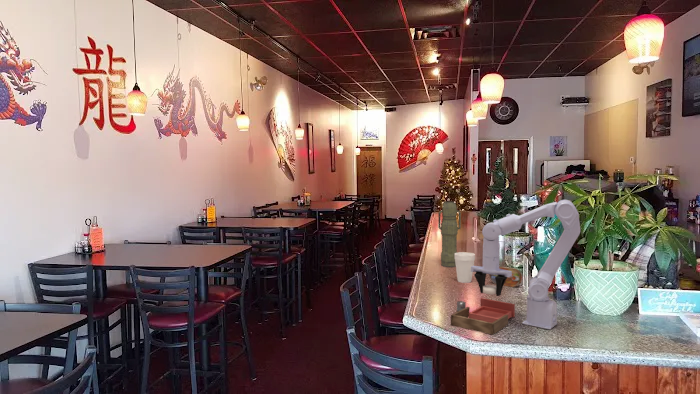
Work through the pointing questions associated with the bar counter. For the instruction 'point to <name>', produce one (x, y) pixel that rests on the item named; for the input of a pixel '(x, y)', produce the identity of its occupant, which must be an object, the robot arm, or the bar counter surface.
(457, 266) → the foam cup
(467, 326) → the cabinet
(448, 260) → the thermos
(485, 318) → the drawer
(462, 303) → the cylinder
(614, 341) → the bar counter surface
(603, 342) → the bar counter surface
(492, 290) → the white dome
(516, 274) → the tin
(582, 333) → the bar counter surface
